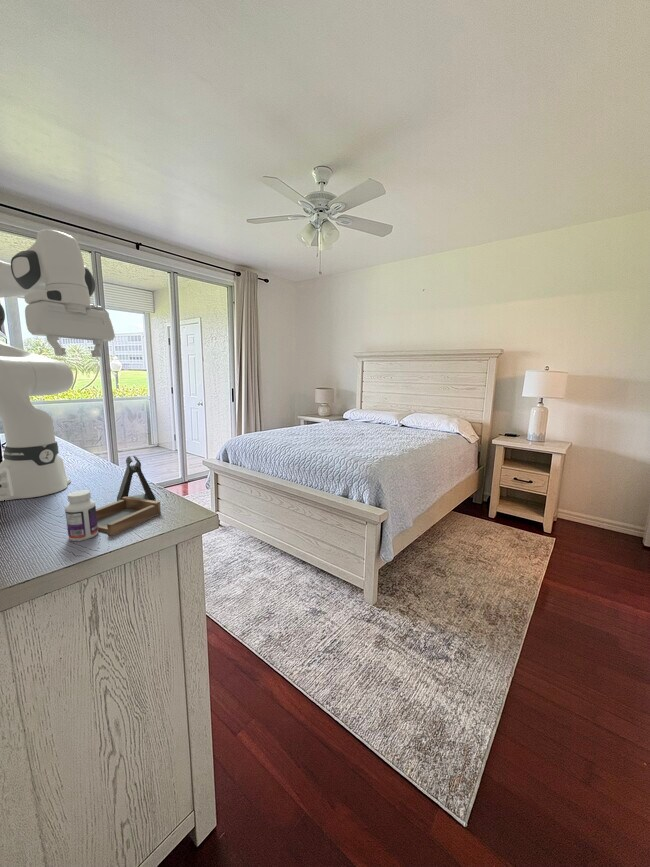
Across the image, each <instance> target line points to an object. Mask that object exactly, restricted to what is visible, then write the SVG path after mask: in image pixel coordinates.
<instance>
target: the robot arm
mask: <svg viewBox="0 0 650 867" xmlns="http://www.w3.org/2000/svg"><path fill="white" fill-rule="evenodd" d="M36 235H37V236H36V239H35V242H34V243H32V245H31V246H29V247H28V248H27V249H26V250H22V251H19V252H17V253H16V254H14V255H13V257H11V260H10V262H6V261H2V260H0V298H1V299H2V298H8V297H9V298H10V297H20V296H24V298H23V299H24V301H25V303H26V304H27V305H26V306H25V309H24V316H25V324H26V329H27V330H28V332H29V333H30V334H31V335H32V336H41V337H46V340H47V343H48V344H49V345H50V346H51V348H52V349H53V351H54V355H55V356H57V357H64V356H66V355H67V353H66V347H62V346H61V344H60V343H59V341H60V339H61V338H62V339H70V340H71V339H73V340H84V341H92V345H94V348H93V349H92V350H90V353H91V357H92V358H101V357H102V349H103V348H104V347H103V346H104V342H111V341H113V340H114V339H115V331H114V330H115V329H114V327H113V323H112V319H111V318H110V313H109V312H108V311H107V309H105V308H104V307H103V306H100V305H94V304H92V303H91V297H92V296H93V295H94V293H95V290H96V280H95V278H94V275H93V274H92V272H91V271H90V270H89V269H88V267H87V266H86V265H85V263H84V258H83V254H82V251H81V247H80V245H79V243H78V241H77V240H76V238H75V237H73V236H72V235H69V234H67V233H65V232H61V231H58V230H54V229H40V230H39V231H38V232H37V234H36ZM5 320H6V313H5V309H4V307H3V305H2V303H0V328H1V327H2V325H3V324H4V323H5ZM73 383H74V373H73V371H72V369H71V367H70V366H69V364H68V363H66V362H65V361H62V360H59V359H53V358H49V357H46V356H43V355H40V354H36V353H34V352H31V351H28V350H25V349H22V348H19V347H15V346H13V345H9V344H8V343H6V342H5V341H3V340H1V339H0V421H1V424H2V428H3V429H2V430H3V433H4V438H5V445H6V446H4V447H1V449H4V450H2V452H3V460H2V461H1V462H0V502H2V501H3V502H4V500H5V501H10V500H17V499H30V498H36V497H37V498H38V497H43V496H48V495H51V494H54V493H58V492H61V491H63V490H65V489H66V488H68V485H69V484H70V483H71V479H70V478H68V476H67V472H66V469H65V464H64V461H63V458H62V457H60V456H59V455H58V454H59V445H58V442H57V441H56V436H55V427H54V426H55V425H54V420H53V417H52V416H51V414H49V413H48V412H46V411H44V410H42V409H41V408H40V409H39V408H36V407H35V406H34V405H33V403H32V402H31V399H30V397H40V396H53V395H56V394H57V395H58V394H60V393H64V392H67V391H69V390H70V389H71V388H72V386H73Z"/></svg>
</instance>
